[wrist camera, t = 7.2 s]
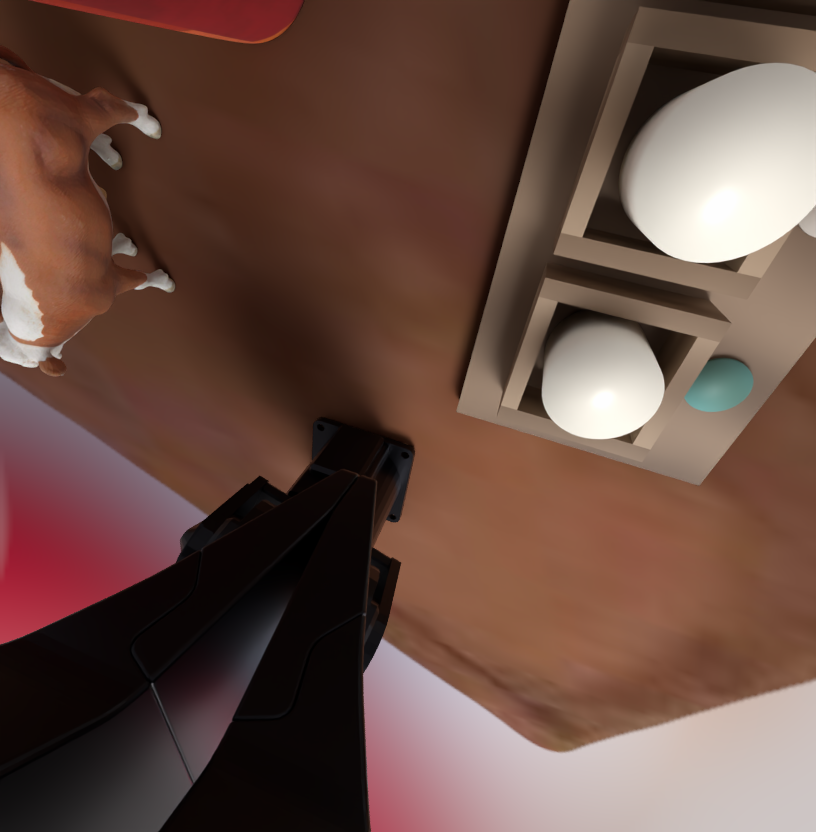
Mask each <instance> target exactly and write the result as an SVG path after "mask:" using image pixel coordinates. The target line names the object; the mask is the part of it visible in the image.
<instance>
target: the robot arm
mask: <svg viewBox="0 0 816 832" xmlns="http://www.w3.org/2000/svg"><path fill="white" fill-rule="evenodd" d="M320 424H321V425H323V426H324V427H322V426H321V425H320ZM404 452H407V453H408V454H409V455H406V454H405V453H404ZM414 456H415V450H414V448H413V447H411V446H410V445H407V444H404V443H401V442H398V441H395V440H392V439H388V438H385V437H382V436H379V435H376V434H373V433H370V432H367V431H364V430H361V429H358V428H354V427H351V426H348V425H345V424H342V423H339V422H336V421H333V420H330V419H327V418H323V417H320V418H318V419H317V420H316V421H315V422H314V424H313V448H312V461H311V463H310V464H309V465H308V466H307V468H306V469H305V470H304V471H303V473H302V474H301V475H300V476H299V478H298V479H297V480H296V482H295V483H294V484H293V485H292V487H291V488H290V489H289V490H288V492H287V493H284V492H282V491H281V490H279V489H277V488H276V487H274V486H273V485H271V484H269V483H268V482H269V481H268V480H266V479H265V478H263V477H261V476H259V477H258V478H256V479H255V480H254V481H253V482H252V483H250V484H246V485H245V486H244V487H243V488H241V489H240V490H239V491H238V492H237V493H235V494H234V495H233V496H232V497H231V498H229V499H228V500H227V501H226V502H225V503H224V504H222V505H221V506H220V507H219V508H218V509H216V510H215V511H214V512H213V513H212V514H210V515H209V516H208V517H207V518H206V519H205V520H203V521H202V522H200V523H198V524H197V525H195V526H193V527H191V528H190V529H188V530H187V531H186V532H185V533H184V534H183V536H182V537H181V539H180V547H181V553H180V555H179V557H178V559H177V561H176V563H175V564H173V565H171V566H170V567H168V568H166V569H164V570H162V571H160V572H159V573H157V574H155V575H153V576H151V577H149V578H147V579H145V580H143V581H141V582H139V583H137V584H135V585H133V586H131V587H128V588H126V589H124V590H122V591H120V592H118V593H116V594H114V595H112V596H110V597H108V598H105V599H103V600H101V601H99V602H97V603H95V604H92V605H90V606H88V607H86V608H84V609H82V610H80V611H78V612H75V613H73V614H71V615H69V616H67V617H65V618H63V619H60V620H58V621H56V622H54V623H52V624H50V625H47V626H45V627H43V628H41V629H39V630H37V631H34V632H32V633H30V634H27V635H25V636H23V637H20V638H17V639H15V640H12V641H9V642H7V643H4V644H0V832H371V828H370V816H369V801H368V782H367V760H366V740H365V719H364V696H363V673H364V671H365V670H366V668H367V667H368V665H369V663H370V661H371V660H372V658H373V656H374V654H375V652H376V649H377V648H378V646H379V643H380V641H381V639H382V636H383V634H384V631H385V628H386V625H387V622H388V618H389V614H390V610H391V605H392V601H393V596H394V592H395V588H396V583H397V579H398V574H399V570H400V566H401V562H399V561H398V560H396V559H394V558H393V557H392V558H389V557H388V556H386V555H384V554H383V553H381V552H380V551H378V550H376V549H375V548H373V547H374V544H375V542H376V540H377V538H378V536H379V534H380V532H381V529H382V527H383V525H384V523H385V521H386V520H388V521H391V522H398V521H399V520H400V517H401V515H402V510H403V506H404V501H405V497H406V492H407V488H408V483H409V479H410V474H411V470H412V465H413V461H414Z"/></svg>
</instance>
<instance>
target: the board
mask: <svg viewBox="0 0 816 832" xmlns="http://www.w3.org/2000/svg"><path fill="white" fill-rule="evenodd" d="M766 63H786V64H793V65H797V66H801V67H804V68H807V69H809V70H811V71H813V72H815V73H816V0H570V2H569V5H568V9H567V13H566V16H565V20H564V24H563V27H562V31H561V34H560V38H559V42H558V45H557V49H556V53H555V56H554V60H553V63H552V67H551V71H550V74H549V78H548V81H547V85H546V89H545V92H544V96H543V100H542V103H541V107H540V110H539V114H538V118H537V121H536V125H535V129H534V132H533V136H532V139H531V143H530V147H529V150H528V154H527V157H526V161H525V165H524V168H523V172H522V176H521V179H520V183H519V186H518V190H517V194H516V197H515V201H514V205H513V208H512V212H511V215H510V219H509V223H508V226H507V230H506V234H505V237H504V241H503V244H502V248H501V252H500V255H499V259H498V262H497V266H496V270H495V273H494V277H493V281H492V284H491V288H490V291H489V295H488V299H487V302H486V306H485V310H484V313H483V317H482V320H481V324H480V328H479V331H478V335H477V339H476V342H475V346H474V349H473V353H472V357H471V360H470V364H469V367H468V371H467V375H466V378H465V382H464V386H463V389H462V393H461V396H460V400H459V404H458V407H457V411H456V412H459V413H462V414H465V415H469V416H472V417H475V418H478V419H482V420H485V421H488V422H492V423H495V424H498V425H501V426H505V427H508V428H511V429H515V430H518V431H521V432H524V433H528V434H531V435H534V436H538V437H541V438H544V439H547V440H551V441H554V442H557V443H561V444H564V445H567V446H570V447H574V448H577V449H580V450H584V451H587V452H590V453H593V454H597V455H600V456H603V457H607V458H610V459H613V460H616V461H620V462H623V463H626V464H630V465H633V466H636V467H639V468H643V469H646V470H649V471H653V472H656V473H659V474H663V475H666V476H669V477H672V478H676V479H679V480H682V481H686V482H689V483H692V484H695V485H700V484H701V482H702V481H703V480H704V479H705V477H706V476H707V475H708V474H709V472H710V471H711V470H712V469H713V467H714V466H715V465H716V463H717V462H718V461H719V460H720V458H721V457H722V456H723V455H724V453H725V452H726V451H727V449H728V448H729V447H730V446H731V444H732V443H733V442H734V441H735V439H736V438H737V437H738V435H739V434H740V433H741V432H742V430H743V429H744V428H745V427H746V425H747V424H748V423H749V421H750V420H751V419H752V418H753V416H754V415H755V414H756V413H757V411H758V410H759V409H760V407H761V406H762V405H763V404H764V402H765V401H766V400H767V399H768V397H769V396H770V395H771V393H772V392H773V391H774V390H775V388H776V387H777V386H778V385H779V383H780V382H781V381H782V379H783V378H784V377H785V376H786V374H787V373H788V372H789V371H790V369H791V368H792V367H793V365H794V364H795V363H796V362H797V360H798V359H799V358H800V357H801V355H802V354H803V353H804V351H805V350H806V349H807V348H808V346H809V345H810V344H811V343H812V341H813V340H814V339H815V337H816V205H815V206H814V208H813V209H812V210H811V211H810V212H809V213H808V214H807V215H806V216H805V217H804V218H803V219H802V220H801V221H800V222H799V223H798V224H797V225H796V226H795V227H793V228H792V229H791V230H790V231H788V232H787V233H786V234H784V235H783V236H782V237H780V238H779V239H777V240H776V241H774V242H772V243H771V244H769V245H767V246H765V247H763V248H761V249H759V250H758V251H755V252H753V253H750V254H748V255H745V256H742V257H739V258H736V259H732V260H727V261H722V262H713V263H696V262H689V261H684V260H681V259H678V258H675V257H673V256H670V255H668V254H666V253H665V252H663V251H662V250H660V249H659V248H657V247H656V246H655V245H654V244H653V243H652V242H651V241H650V240H649V239H648V238H647V237H646V236H645V235H644V234H643V233H642V232H641V231H640V230H639V229H638V228H637V227H636V226H635V225H634V224H633V223H632V221H631V220H630V219H629V217H628V216H627V215H626V213H625V211H624V209H623V206H622V203H621V200H620V195H619V174H620V169H621V164H622V161H623V158H624V155H625V153H626V151H627V149H628V146H629V144H630V143H631V141H632V139H633V138H634V136H635V134H636V133H637V132H638V130H639V129H640V128H641V126H642V125H643V124H644V123H645V122H646V121H647V119H648V118H649V117H650V116H651V115H652V114H654V113H655V112H656V111H657V110H658V109H659V108H660V107H662V106H663V105H664V104H666V103H667V102H669V101H670V100H672V99H673V98H675V97H677V96H679V95H681V94H683V93H685V92H687V91H689V90H692V89H694V88H696V87H698V86H701V85H703V84H705V83H707V82H710V81H712V80H714V79H716V78H719V77H721V76H723V75H725V74H728V73H730V72H733V71H736V70H739V69H742V68H744V67H748V66H753V65H758V64H766ZM585 309H589V310H593V311H597V312H601V313H605V314H609V315H613V316H617V317H621V318H625V319H629V320H633V321H636V322H637V323H638V324H639V325H640V327H641V328H642V330H643V332H644V334H645V336H646V338H647V341H648V343H649V345H650V347H651V349H652V352H653V354H654V356H655V358H656V360H657V363H658V365H659V367H660V369H661V372H662V374H663V378H664V395H663V399H662V402H661V404H660V406H659V408H658V410H657V411H656V413H655V414H654V415H653V416H652V418H651V419H650V420H649V421H647V422H646V423H645V424H644V425H643V426H641V427H640V428H638V429H636V430H634V431H632V432H631V433H628V434H625V435H623V436H619V437H615V438H609V439H589V438H583V437H579V436H576V435H573V434H571V433H569V432H567V431H565V430H564V429H562V428H560V427H559V426H558V425H557V424H556V423H555V422H554V421H553V420H552V419H551V418H550V416H549V415H548V414H547V412H546V410H545V407H544V404H543V400H542V383H543V369H544V355H545V347H546V343H547V340H548V338H549V336H550V334H551V333H552V331H553V330H554V329H555V328H556V326H557V325H558V324H559V323H560V322H562V321H563V320H564V319H566V318H567V317H569V316H570V315H572V314H574V313H576V312H579V311H582V310H585Z"/></svg>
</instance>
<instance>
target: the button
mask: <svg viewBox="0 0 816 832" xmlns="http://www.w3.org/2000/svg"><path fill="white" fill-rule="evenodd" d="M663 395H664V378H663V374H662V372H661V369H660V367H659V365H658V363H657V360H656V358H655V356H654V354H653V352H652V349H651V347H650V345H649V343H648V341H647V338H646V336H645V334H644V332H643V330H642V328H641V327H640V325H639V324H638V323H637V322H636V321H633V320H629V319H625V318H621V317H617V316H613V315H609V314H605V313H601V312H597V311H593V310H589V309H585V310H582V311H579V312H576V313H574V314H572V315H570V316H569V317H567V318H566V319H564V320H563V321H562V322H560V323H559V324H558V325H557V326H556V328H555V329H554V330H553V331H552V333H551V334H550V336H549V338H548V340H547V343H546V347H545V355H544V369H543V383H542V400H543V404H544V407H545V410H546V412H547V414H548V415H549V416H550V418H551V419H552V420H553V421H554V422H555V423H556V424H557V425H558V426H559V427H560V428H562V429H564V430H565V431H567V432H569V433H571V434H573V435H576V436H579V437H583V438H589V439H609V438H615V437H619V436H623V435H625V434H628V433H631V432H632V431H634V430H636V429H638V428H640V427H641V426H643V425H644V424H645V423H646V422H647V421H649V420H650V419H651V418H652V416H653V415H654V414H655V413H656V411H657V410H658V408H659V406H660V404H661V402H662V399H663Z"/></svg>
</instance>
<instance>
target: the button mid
mask: <svg viewBox="0 0 816 832" xmlns="http://www.w3.org/2000/svg"><path fill="white" fill-rule="evenodd" d="M619 195H620V200H621V203H622V206H623V209H624V211H625V213H626V215H627V216H628V217H629V219H630V220H631V221H632V223H633V224H634V225H635V226H636V227H637V228H638V229H639V230H640V231H641V232H642V233H643V234H644V235H645V236H646V237H647V238H648V239H649V240H650V241H651V242H652V243H653V244H654V245H655V246H656V247H657V248H659V249H660V250H662V251H663V252H665V253H666V254H668V255H670V256H673V257H675V258H678V259H681V260H684V261H689V262H696V263H713V262H722V261H727V260H732V259H736V258H739V257H742V256H745V255H748V254H750V253H753V252H755V251H758V250H759V249H761V248H763V247H765V246H767V245H769V244H771V243H772V242H774V241H776V240H777V239H779V238H780V237H782V236H783V235H784V234H786V233H787V232H788V231H790V230H791V229H792V228H793V227H795V226H796V225H797V224H798V223H799V222H800V221H801V220H802V219H803V218H804V217H805V216H806V215H807V214H808V213H809V212H810V211H811V210H812V209H813V208H814V206H815V205H816V73H815V72H813V71H811V70H809V69H807V68H804V67H801V66H797V65H793V64H786V63H766V64H758V65H753V66H748V67H744V68H742V69H739V70H736V71H733V72H730V73H728V74H725V75H723V76H721V77H719V78H716V79H714V80H712V81H710V82H707V83H705V84H703V85H701V86H698V87H696V88H694V89H692V90H689V91H687V92H685V93H683V94H681V95H679V96H677V97H675V98H673V99H672V100H670V101H669V102H667V103H666V104H664V105H663V106H662V107H660V108H659V109H658V110H657V111H656V112H655V113H654V114H652V115H651V116H650V117H649V118H648V119H647V121H646V122H645V123H644V124H643V125H642V126H641V128H640V129H639V130H638V132H637V133H636V134H635V136H634V138H633V139H632V141H631V143H630V144H629V146H628V149H627V151H626V153H625V155H624V158H623V161H622V164H621V169H620V174H619Z"/></svg>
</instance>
